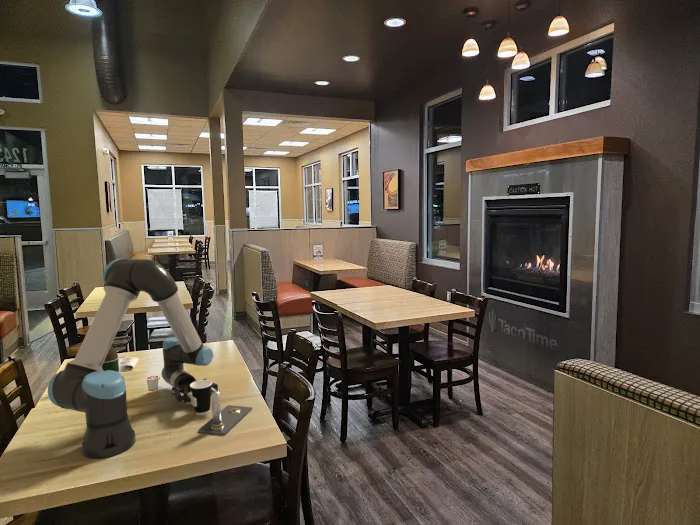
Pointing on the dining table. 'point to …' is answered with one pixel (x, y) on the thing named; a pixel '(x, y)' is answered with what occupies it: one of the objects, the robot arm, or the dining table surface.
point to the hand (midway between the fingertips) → (207, 399)
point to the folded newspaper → (126, 363)
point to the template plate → (226, 420)
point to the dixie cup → (202, 395)
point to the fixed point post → (216, 410)
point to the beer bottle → (111, 361)
